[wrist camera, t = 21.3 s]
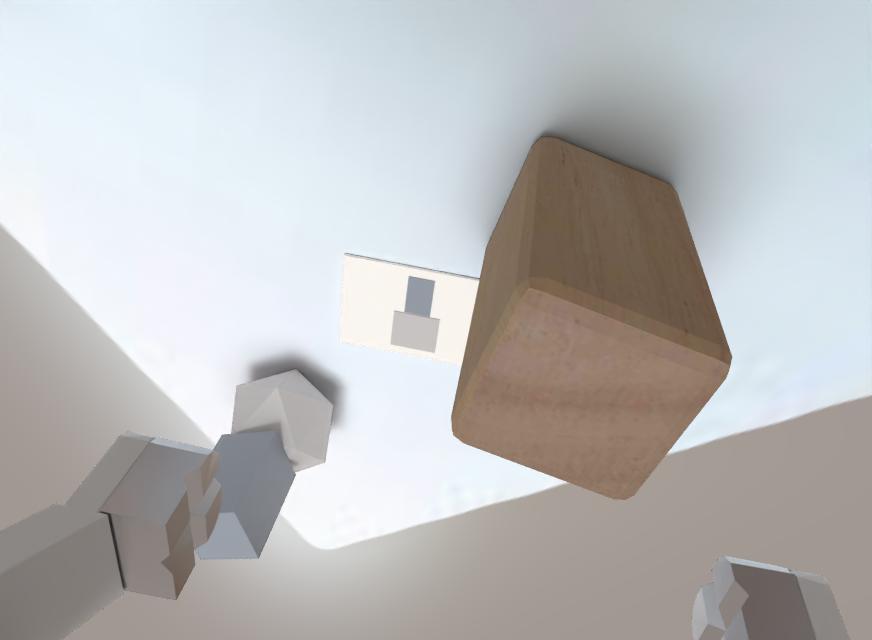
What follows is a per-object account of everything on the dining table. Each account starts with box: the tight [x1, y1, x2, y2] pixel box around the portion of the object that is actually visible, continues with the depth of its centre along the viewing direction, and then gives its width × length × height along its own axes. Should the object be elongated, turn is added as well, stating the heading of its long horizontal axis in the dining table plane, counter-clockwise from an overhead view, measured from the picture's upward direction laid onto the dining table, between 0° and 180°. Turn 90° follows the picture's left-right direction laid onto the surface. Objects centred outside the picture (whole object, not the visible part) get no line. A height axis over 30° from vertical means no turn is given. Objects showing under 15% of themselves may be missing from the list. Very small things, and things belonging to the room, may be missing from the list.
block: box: [451, 137, 732, 500], centre depth 40 cm, size 10×10×20 cm
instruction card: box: [339, 254, 480, 366], centre depth 54 cm, size 12×8×1 cm, turn 83°
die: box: [231, 369, 334, 472], centre depth 58 cm, size 8×9×10 cm
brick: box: [195, 431, 296, 560], centre depth 51 cm, size 5×5×8 cm
